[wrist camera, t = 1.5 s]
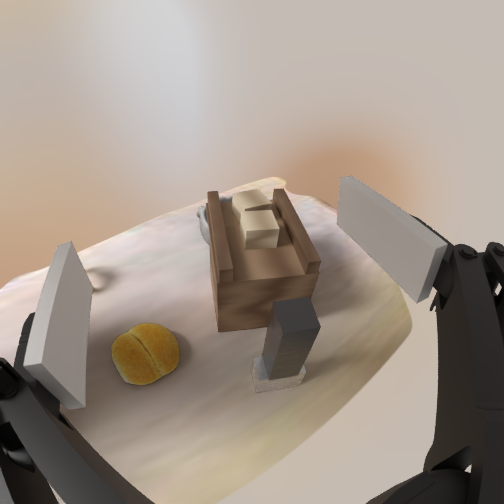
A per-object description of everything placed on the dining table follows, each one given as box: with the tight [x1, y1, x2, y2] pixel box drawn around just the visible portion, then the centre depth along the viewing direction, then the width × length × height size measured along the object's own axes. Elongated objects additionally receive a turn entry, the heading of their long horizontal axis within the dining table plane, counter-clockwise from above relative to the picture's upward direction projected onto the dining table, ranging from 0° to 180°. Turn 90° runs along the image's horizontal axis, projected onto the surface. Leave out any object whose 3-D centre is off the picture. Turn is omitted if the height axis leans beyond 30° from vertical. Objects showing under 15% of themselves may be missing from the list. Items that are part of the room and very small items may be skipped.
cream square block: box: [240, 210, 279, 250], centre depth 38 cm, size 4×4×3 cm
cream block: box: [232, 189, 272, 222], centre depth 41 cm, size 4×4×3 cm
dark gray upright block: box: [251, 297, 321, 393], centre depth 30 cm, size 6×3×14 cm, turn 101°
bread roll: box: [111, 323, 179, 385], centre depth 34 cm, size 8×9×4 cm
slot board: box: [206, 189, 321, 332], centre depth 42 cm, size 12×16×12 cm
